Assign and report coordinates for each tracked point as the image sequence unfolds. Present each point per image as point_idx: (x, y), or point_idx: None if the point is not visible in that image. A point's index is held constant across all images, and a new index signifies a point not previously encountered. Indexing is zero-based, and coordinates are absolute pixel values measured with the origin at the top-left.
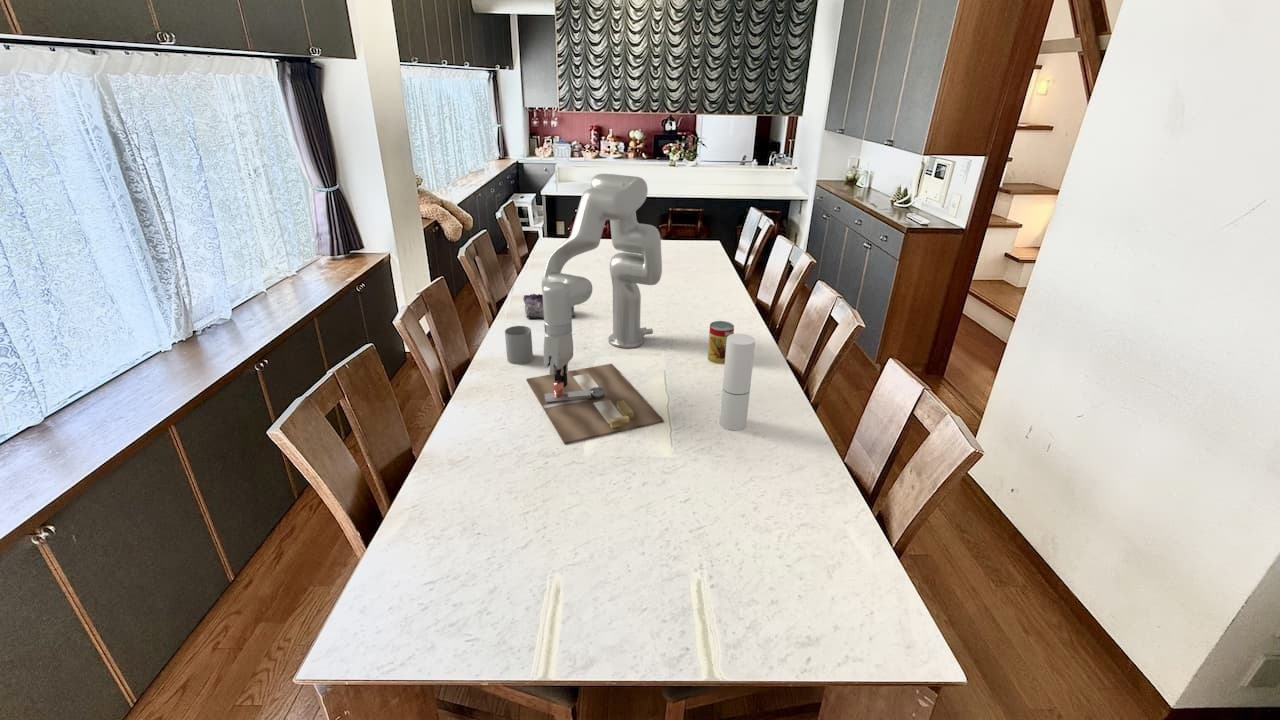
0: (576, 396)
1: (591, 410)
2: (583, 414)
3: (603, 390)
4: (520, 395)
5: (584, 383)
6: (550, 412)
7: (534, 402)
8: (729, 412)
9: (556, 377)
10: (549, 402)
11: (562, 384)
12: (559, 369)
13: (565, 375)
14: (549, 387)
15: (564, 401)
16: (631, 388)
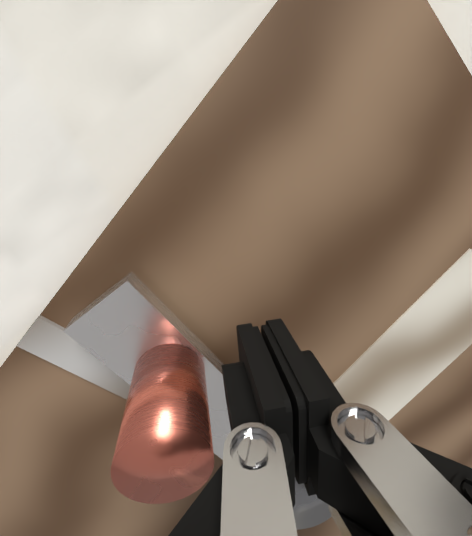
0: (213, 452)
1: (166, 515)
2: (112, 513)
3: (320, 521)
4: (91, 28)
5: (401, 352)
6: (10, 394)
7: (71, 212)
8: None
9: (231, 422)
10: None
11: (162, 498)
12: (336, 467)
13: (295, 475)
14: (290, 198)
15: None
16: None
